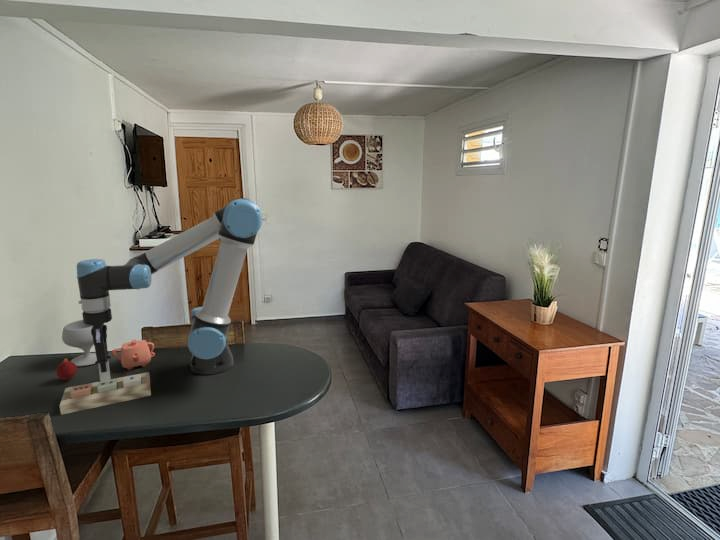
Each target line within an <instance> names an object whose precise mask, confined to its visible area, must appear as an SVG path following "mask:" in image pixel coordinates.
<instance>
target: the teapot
mask: <svg viewBox="0 0 720 540" xmlns="http://www.w3.org/2000/svg"><path fill="white" fill-rule="evenodd" d="M149 345H151V349H150V347H149ZM154 349H155V344H154V343H153V342H151V341H150V342H149V341H147V339H141V340H137V339H132V340H130V342H125V343H122V345H121V347H118V348H113V349H112V350H111V354H112V355H113V356H114V357H116V358H118V359H119V360H120V363H121V366H122V368H123V369H126V370H127V371H130V370H133V369H134V368H135V367H139V366H141V367H142V368H146V367H148V364H150V363H151V361H152V358H153V357H155V356H156V354H155V352H154ZM118 351H120V355H119V354H118V353H117V352H118Z"/></svg>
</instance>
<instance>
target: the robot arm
mask: <svg viewBox="0 0 720 540" xmlns="http://www.w3.org/2000/svg"><path fill="white" fill-rule="evenodd" d="M262 214H263V213H262V212H261V209H260V208H259V206H258V205H257V204H256V203H255V202H254V201H252V200H250V199H249V198H245V197H238V198H234V199H232V200H230V201H229V202H228V203H226V205H224V206H223V207H222V208H220V209H218V210H216V211H214V212H213V214H212V217H210V218H208V219H206V220H204V221H202V222H200V223H197V224H196V225H194V226H192V227H190V228H188V229H187V230H185V231H183V232H181V233H179V234H177V235H175V236H173V237H172V238H169V239H168V240H166V241H164V242H162V243H160V244H158V245H156V246H155V247H152V248H150V249H149V250H146V251H145V252H143V253H140V254H139V255H136V256H133V257H132V258H130V259H129V260H128V261H127V262H126V263H125V264H123V265H107V263H106V260H104V259H103V258H102V259H100V258H99V259H98V258H92V259H90V258H89V259H83V260H80V261H79V262H77V263H76V279H77V285H78V290H79V296H80V297H79V298H80V300H79V301H77V302H78V304H80V305H81V310H82V320H83V322H84V324H86V325H93V327H92V330H91V335H92V336H93V342H94V345H93V347H94V353H96V358H97V361H95V364H94V365H96V364H97V366H98V373H99V380H100V381H99V382H102V381H108V380H110V379H111V371H110V370H111V369H110V363H109V360H110V359H111V355H108V354H109V351H108V343H107V338H108V333H107V331H108V326H107V325H106V324H107V323H109V322H111V321H112V319H113V316H112V315H113V314H112V309H111V306H112V305H111V297H110V292H109V291H123V290H124V291H125V290H141V289H148V288H150V286H151V285H152V275H153V274H156V273H157V272H159V271H161V270H162V269H164V268H166V267H168V266H170V265H172V264H173V263H176V262H177V261H180V260H182V259H183V258H184V257H186V256H188V255H191V254H192V253H194V252H196V251H198V250H200V249H202V248H204V247H205V246H207V245H209V244H211V243H213V242H215V241H217V240H219V239H220V243H219V248H218V251H217V255H216V259H215V263H214V266H213V268H212V273H211V276H210V279H209V283H208V286H207V289H206V290H207V291H206V293H205V296H204V299H203V304H202V306H198V307H195V308H193V309H192V310H191V311H190V318H191V328H190V331H189V335H188V337H187V341H186V342H187V347H188V350H189V352H190V354H192V356H191V360H190V369H191V370H190V371H191V372H192V373H194V374H196V375H204V376H205V375H214V374H215V375H216V374H219V373H222V372H225V371H227V370H229V369H231V368H232V367H233V366H234V356H233V354H232V351H231V349H230V347H229V345H228V337H227V335H228V332H229V329H230V326H231V323H232V322H231V321H232V319H231V317H230V316H229V314H230V313H229V312H230V310H231V306H232V302H233V299H234V297H235V293H236V288H237V285H238V283H239V278H240V276H241V272H242V269H243V266H244V265H243V264H244V261H245V259H246V255H247V252H248V249H249V248H250V247H252V246H254V244H255V242H256V238H257V236H258V235H257V234H258V232H259V230H260V229H261V227H262V224H263V215H262Z"/></svg>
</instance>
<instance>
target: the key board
mask: <svg viewBox="0 0 720 540" xmlns="http://www.w3.org/2000/svg"><path fill="white" fill-rule="evenodd" d="M140 374H141V382H142V384H141V385H136V386H131V387H127V388H124V386H123V377H124V376H122V377H117V385H118V389H117V390H112V391H107V392H102V393H98V389H97V388H98V383H99V382H100V381H95V382H90V383H92V390H93V391H92V395H87V396H82V397H77V398H72V399H71V391H72V388H73V387H74V386H69V387H65V389H64V391H63V395H62V397H61V400H60V404H59V411H60V415H61V416H62V415H66V414H71V413H77V412H81V411H86V410H89V409H90V410H91V409H95V408H99V407H105V406H108V405H113V404H118V403H123V402H127V401H131V400H136V399H140V398H141V399H142V398H145V397H150V396H152V391H151V389H152V387H151V378H150V372H149V371H148V372H141V373H140ZM114 379H116V378H114ZM90 383H88V384H90Z"/></svg>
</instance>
